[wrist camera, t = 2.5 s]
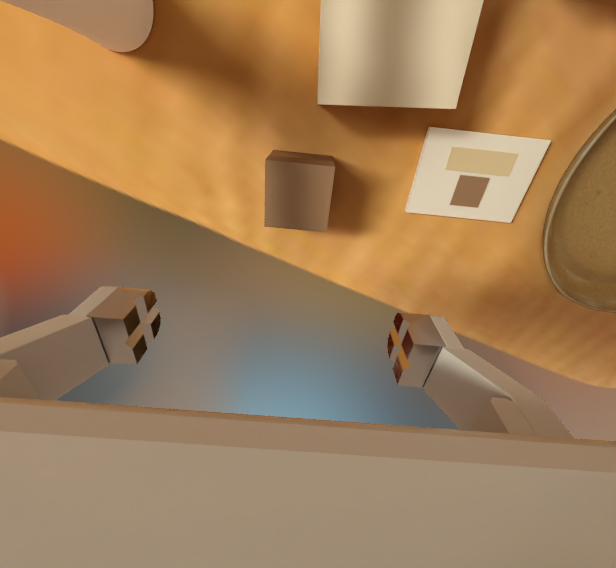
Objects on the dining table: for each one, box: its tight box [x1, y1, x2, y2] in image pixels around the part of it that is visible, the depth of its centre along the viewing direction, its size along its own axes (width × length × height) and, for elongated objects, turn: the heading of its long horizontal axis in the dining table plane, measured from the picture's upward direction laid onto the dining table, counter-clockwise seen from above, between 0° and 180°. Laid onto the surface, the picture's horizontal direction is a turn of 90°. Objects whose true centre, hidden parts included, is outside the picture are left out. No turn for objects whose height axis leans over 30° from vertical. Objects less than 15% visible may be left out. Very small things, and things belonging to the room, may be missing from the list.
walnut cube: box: [265, 150, 335, 232], centre depth 24 cm, size 5×5×5 cm
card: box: [405, 126, 551, 223], centre depth 25 cm, size 10×7×1 cm
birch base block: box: [317, 0, 484, 109], centre depth 19 cm, size 9×9×5 cm
